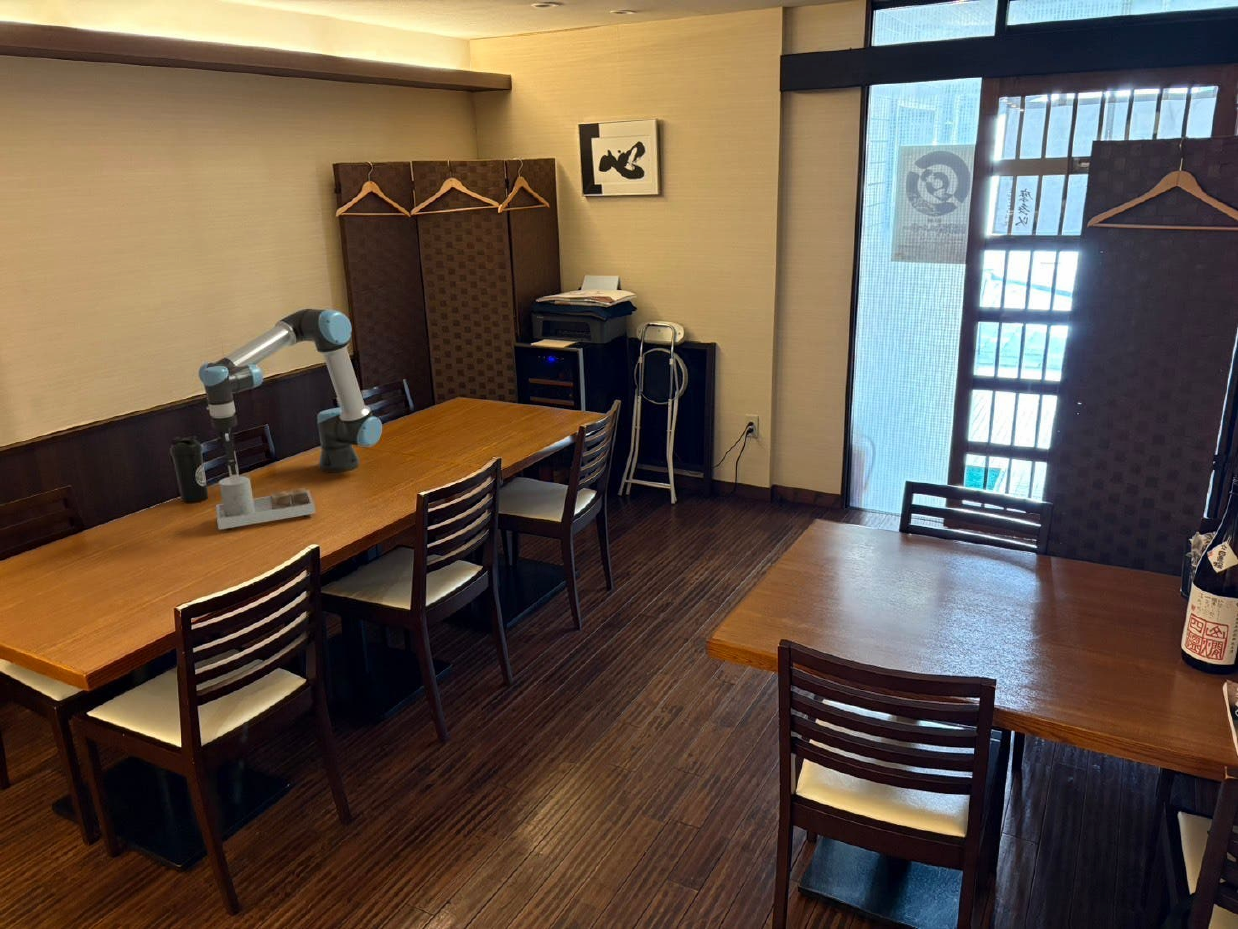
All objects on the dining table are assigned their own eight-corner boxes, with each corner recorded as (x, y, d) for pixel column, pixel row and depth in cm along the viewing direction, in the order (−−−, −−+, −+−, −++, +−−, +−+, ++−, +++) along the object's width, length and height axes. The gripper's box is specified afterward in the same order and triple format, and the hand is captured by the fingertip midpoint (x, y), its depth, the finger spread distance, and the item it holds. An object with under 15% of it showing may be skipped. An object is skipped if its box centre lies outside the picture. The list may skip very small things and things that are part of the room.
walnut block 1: (287, 504, 307) (285, 491, 306) (291, 508, 303) (289, 495, 302) (272, 508, 305) (269, 494, 303) (276, 512, 301) (273, 498, 299)
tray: (310, 503, 315) (308, 489, 313) (316, 517, 302) (314, 503, 300) (218, 518, 303) (215, 504, 302) (219, 533, 290) (217, 519, 289)
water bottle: (203, 504, 317) (191, 442, 310) (174, 504, 317) (162, 442, 310) (215, 494, 327) (204, 433, 319) (188, 494, 327) (176, 434, 320)
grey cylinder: (260, 510, 303) (255, 475, 299) (247, 520, 294) (241, 485, 290) (234, 509, 304) (227, 475, 300) (219, 520, 295) (212, 485, 291)
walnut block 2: (307, 501, 309) (305, 488, 308) (308, 506, 305) (306, 492, 303) (291, 504, 307) (289, 490, 306) (293, 509, 303) (291, 495, 301)
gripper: (209, 407, 297) (221, 467, 304) (211, 426, 276) (224, 491, 283) (233, 404, 300) (245, 464, 307) (237, 422, 279) (249, 486, 286)
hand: (235, 477), depth 295 cm, fingers open, 13 cm apart
